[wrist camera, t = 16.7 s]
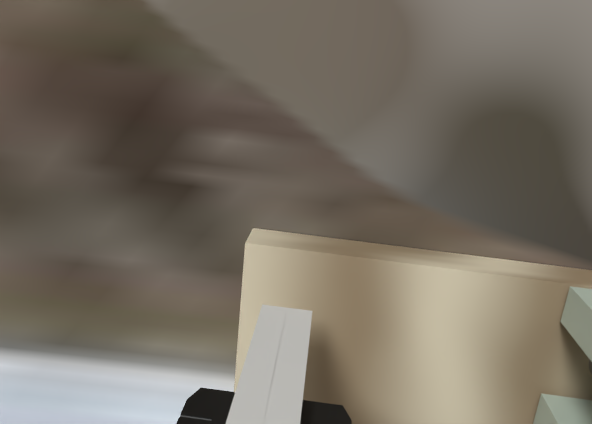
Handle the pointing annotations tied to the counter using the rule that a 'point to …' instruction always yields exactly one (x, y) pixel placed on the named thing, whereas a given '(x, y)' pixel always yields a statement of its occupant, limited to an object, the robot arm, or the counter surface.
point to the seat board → (419, 328)
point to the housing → (588, 334)
